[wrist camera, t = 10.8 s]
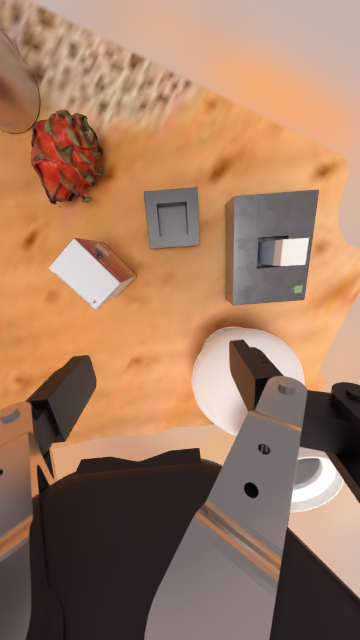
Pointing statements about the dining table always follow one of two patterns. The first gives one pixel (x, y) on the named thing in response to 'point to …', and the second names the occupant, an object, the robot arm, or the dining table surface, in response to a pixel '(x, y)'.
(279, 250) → the plug
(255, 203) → the port
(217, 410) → the decorative vase
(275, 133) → the dining table surface
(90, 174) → the dragon fruit
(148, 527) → the robot arm
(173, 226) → the holster
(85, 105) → the dining table surface
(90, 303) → the small box
